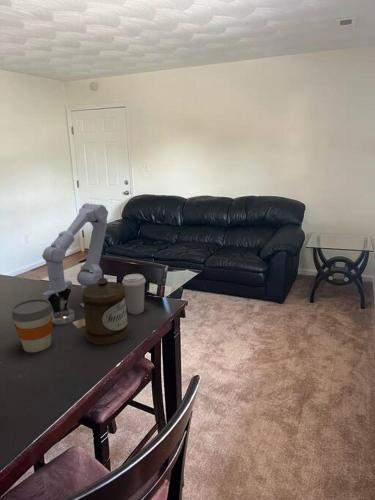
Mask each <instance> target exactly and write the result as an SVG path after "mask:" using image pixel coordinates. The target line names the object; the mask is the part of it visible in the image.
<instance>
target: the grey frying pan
mask: <svg viewBox="0 0 375 500" xmlns="http://www.w3.org/2000/svg"><path fill="white" fill-rule="evenodd" d="M51 316H52V326H65V325H69V324H70V323H71V324H72V322H75V321H76V320H75V319H76V314H75V310H74V309H71V308H69V315H66V316H63V319H61V317H55V318H54V314H53V311H52V312H51Z"/></svg>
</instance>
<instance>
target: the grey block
mask: <svg viewBox="0 0 375 500" xmlns="http://www.w3.org/2000/svg"><path fill="white" fill-rule="evenodd" d="M66 302H67V301H66V300H64V296H60V299H59V311H62V310H66V308H65V303H66ZM67 303H68V302H67Z"/></svg>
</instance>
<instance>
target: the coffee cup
mask: <svg viewBox="0 0 375 500" xmlns="http://www.w3.org/2000/svg"><path fill="white" fill-rule="evenodd" d="M146 282H147V280H146V278H145V277H144V275H143V274H140V273H131V274H126V275H125V276H124V277H123V279H122V281H121V284H123V285H124V289H125V302H126V308H127V312H128V313H129V315H130V314H131V315H139V314H142V313H143V312H144V311H145V286H146V285H145V284H146Z"/></svg>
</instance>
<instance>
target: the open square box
mask: <svg viewBox="0 0 375 500" xmlns="http://www.w3.org/2000/svg"><path fill="white" fill-rule="evenodd" d="M69 309H70V308H69V304H67V307H66V310H62V311H58V312H55V311H53V310H52V312H53V314H54V318H55V317H61V319H63V316H66V315H69Z"/></svg>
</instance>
